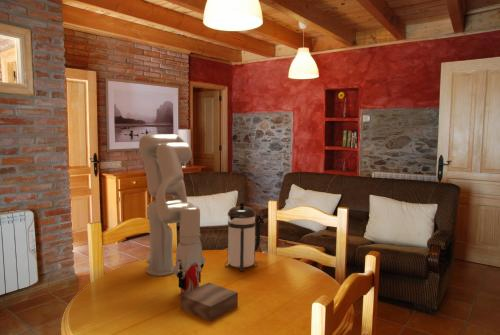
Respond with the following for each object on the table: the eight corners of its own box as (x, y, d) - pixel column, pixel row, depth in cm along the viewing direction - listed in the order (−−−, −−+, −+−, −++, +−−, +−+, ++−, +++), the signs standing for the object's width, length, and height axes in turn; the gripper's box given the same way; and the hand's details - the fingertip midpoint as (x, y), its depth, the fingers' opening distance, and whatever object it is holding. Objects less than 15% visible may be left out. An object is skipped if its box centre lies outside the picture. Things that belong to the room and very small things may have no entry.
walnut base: (180, 308, 131) (180, 294, 131) (208, 295, 142) (208, 282, 142) (210, 321, 123) (210, 306, 122) (237, 306, 134) (237, 292, 133)
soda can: (195, 297, 140) (195, 266, 139) (177, 296, 141) (177, 264, 140) (201, 290, 147) (201, 260, 146) (184, 288, 148) (184, 258, 147)
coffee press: (259, 273, 166) (261, 205, 163) (223, 272, 166) (224, 204, 163) (259, 259, 183) (260, 198, 180) (226, 259, 183) (227, 197, 180)
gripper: (199, 232, 151) (199, 275, 153) (165, 242, 137) (165, 289, 139) (213, 236, 147) (212, 280, 148) (179, 246, 133) (179, 295, 135)
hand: (189, 284), depth 144 cm, fingers closed on soda can, 7 cm apart
